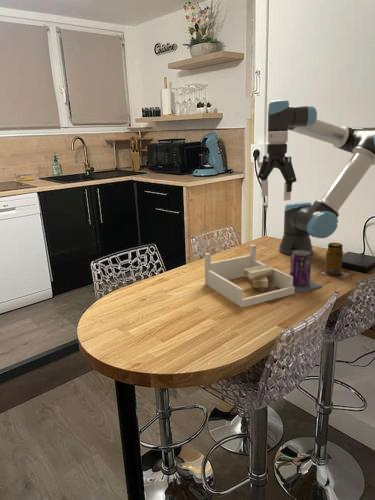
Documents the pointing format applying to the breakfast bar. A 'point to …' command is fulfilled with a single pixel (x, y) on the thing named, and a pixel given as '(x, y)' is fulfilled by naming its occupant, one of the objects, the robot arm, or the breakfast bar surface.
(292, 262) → the beverage can
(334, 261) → the condiment
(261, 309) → the breakfast bar surface
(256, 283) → the offcut oak
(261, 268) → the offcut birch
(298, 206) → the robot arm
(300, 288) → the coaster
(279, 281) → the frame
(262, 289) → the offcut walnut
